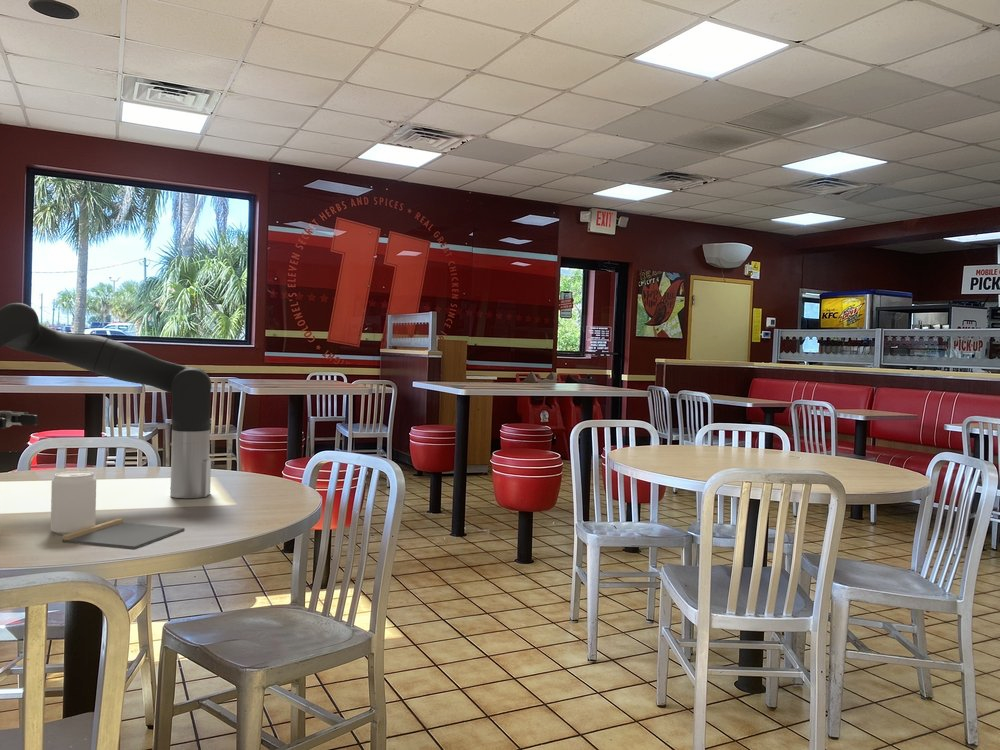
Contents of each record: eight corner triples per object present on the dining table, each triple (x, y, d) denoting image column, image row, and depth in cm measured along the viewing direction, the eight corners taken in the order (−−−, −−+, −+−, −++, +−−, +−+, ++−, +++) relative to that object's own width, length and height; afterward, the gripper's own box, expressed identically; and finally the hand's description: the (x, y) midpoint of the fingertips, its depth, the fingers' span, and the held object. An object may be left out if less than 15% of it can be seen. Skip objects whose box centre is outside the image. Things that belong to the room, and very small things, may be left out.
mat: (62, 541, 150) (62, 535, 150) (118, 524, 166) (118, 518, 166) (134, 548, 147) (134, 542, 147) (184, 530, 163) (184, 524, 163)
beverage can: (62, 526, 163) (63, 470, 162) (102, 526, 163) (103, 471, 163) (42, 535, 155) (43, 476, 154) (84, 536, 155) (85, 477, 155)
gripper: (-75, 402, 157) (-8, 406, 154) (-16, 398, 171) (47, 402, 168) (-76, 438, 157) (-8, 443, 154) (-16, 431, 171) (47, 436, 168)
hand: (21, 421), depth 161 cm, fingers open, 8 cm apart
